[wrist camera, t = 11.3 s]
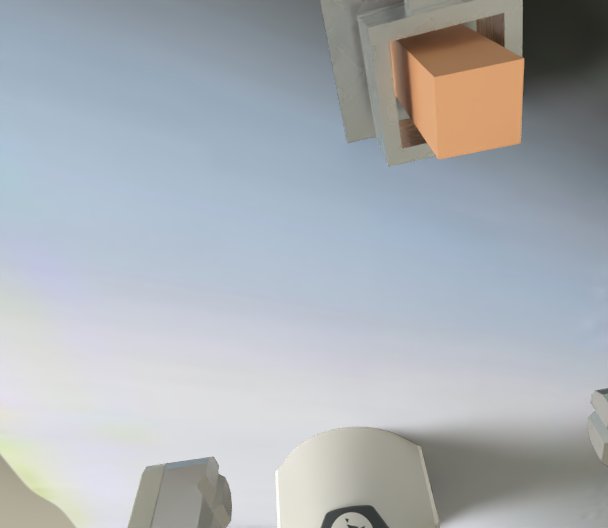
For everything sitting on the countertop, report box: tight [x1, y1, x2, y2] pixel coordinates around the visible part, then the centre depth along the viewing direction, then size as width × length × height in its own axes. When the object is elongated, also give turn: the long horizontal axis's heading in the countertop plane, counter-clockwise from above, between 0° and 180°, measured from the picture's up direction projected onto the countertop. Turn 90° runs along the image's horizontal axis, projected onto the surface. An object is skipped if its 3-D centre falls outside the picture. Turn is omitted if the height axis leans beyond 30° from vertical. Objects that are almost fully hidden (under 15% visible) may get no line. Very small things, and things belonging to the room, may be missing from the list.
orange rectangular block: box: [390, 24, 524, 159], centre depth 25 cm, size 4×4×10 cm
